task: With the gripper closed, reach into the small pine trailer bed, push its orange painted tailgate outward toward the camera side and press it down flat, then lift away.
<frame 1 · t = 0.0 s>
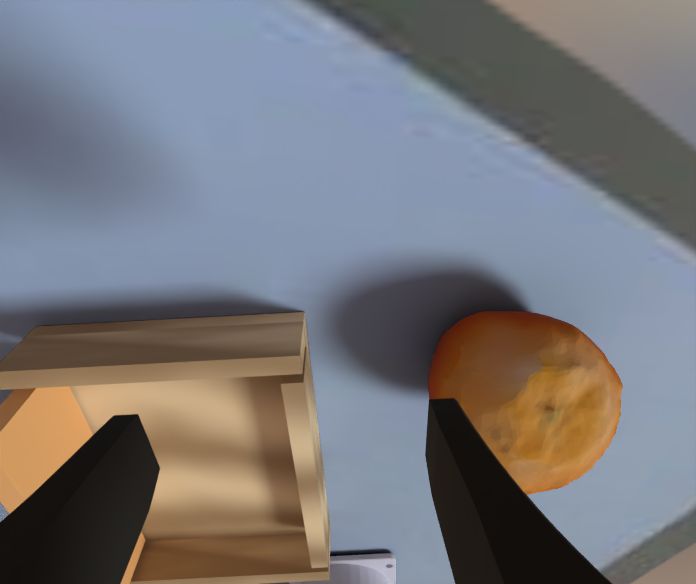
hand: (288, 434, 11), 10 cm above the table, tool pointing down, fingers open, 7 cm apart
tailgate: (71, 506, 23), point 4 cm above the table, hinge at 0.0°
fruit: (492, 347, 23), on the table
trailer bed: (209, 445, 26), on the table
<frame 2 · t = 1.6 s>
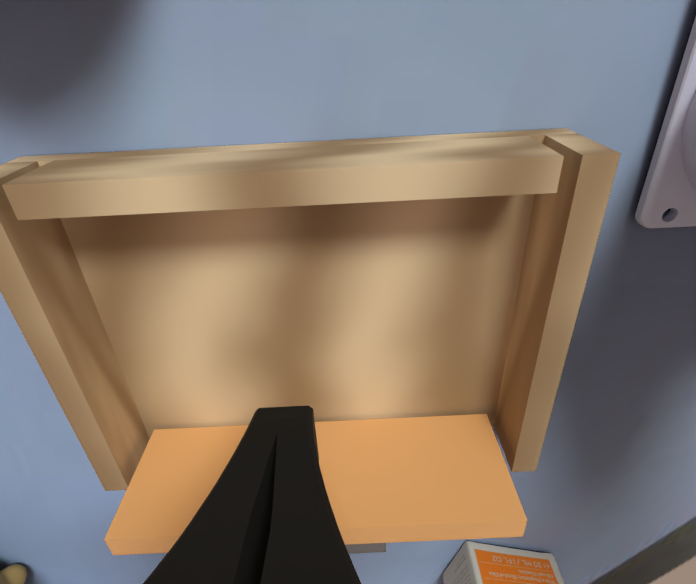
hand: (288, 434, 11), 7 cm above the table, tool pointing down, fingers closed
tailgate: (319, 481, 18), point 4 cm above the table, hinge at 0.0°
skincare box: (494, 558, 28), on the table
trailer bed: (310, 307, 18), on the table
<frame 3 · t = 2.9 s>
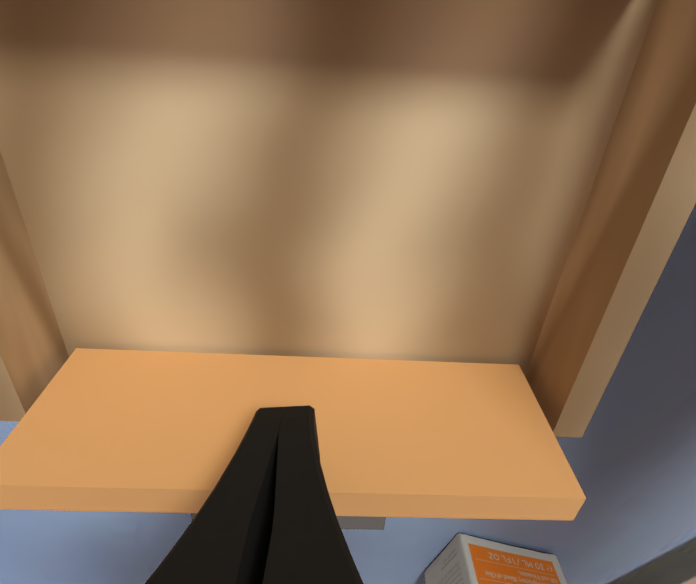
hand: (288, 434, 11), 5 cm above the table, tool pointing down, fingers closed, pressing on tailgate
tailgate: (297, 431, 13), point 4 cm above the table, hinge at 1.7°, touching gripper
skincare box: (486, 557, 24), on the table
trailer bed: (307, 189, 13), on the table
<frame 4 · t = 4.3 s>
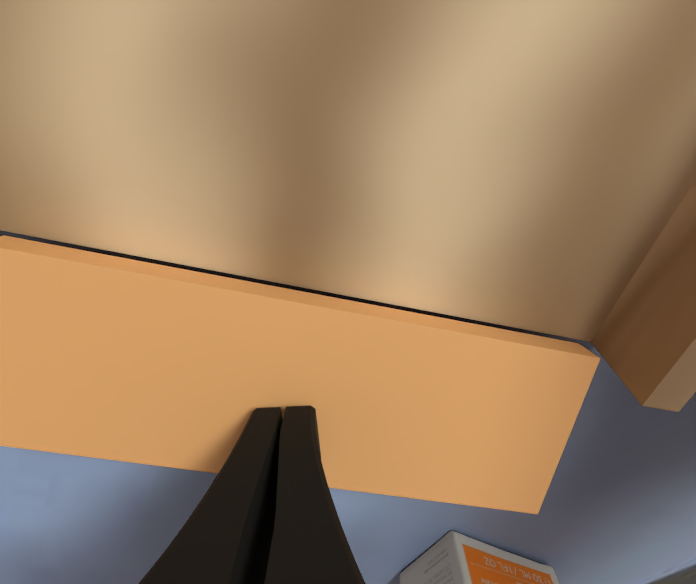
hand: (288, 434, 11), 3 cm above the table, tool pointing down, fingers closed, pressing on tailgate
tailgate: (298, 383, 12), point 2 cm above the table, hinge at 75.1°, touching gripper
skincare box: (472, 562, 21), on the table
trailer bed: (380, 4, 9), on the table
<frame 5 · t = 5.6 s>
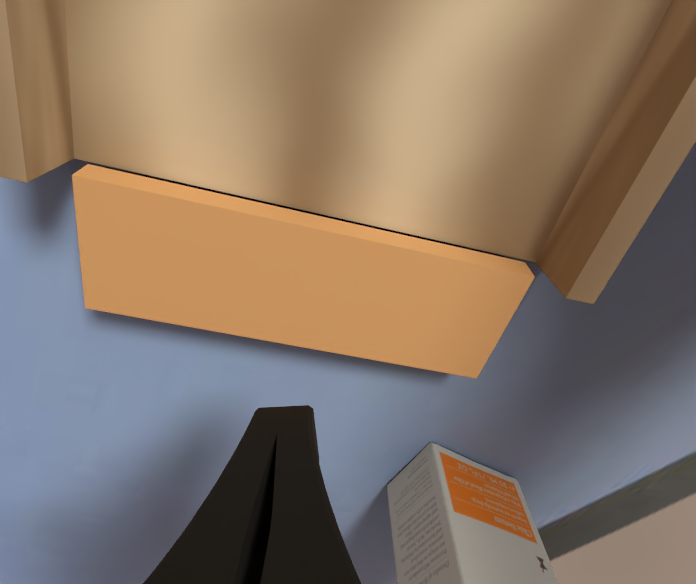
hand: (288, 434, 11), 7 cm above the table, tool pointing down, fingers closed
tailgate: (307, 280, 16), point 1 cm above the table, hinge at 93.3°
skincare box: (449, 476, 24), on the table
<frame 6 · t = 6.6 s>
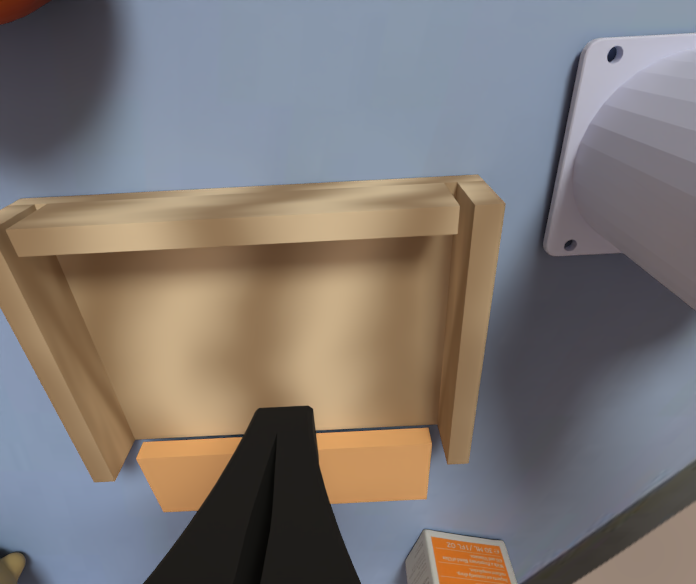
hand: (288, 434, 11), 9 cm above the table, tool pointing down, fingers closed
tailgate: (290, 466, 25), point 1 cm above the table, hinge at 93.5°
skincare box: (451, 546, 31), on the table
trailer bed: (271, 322, 21), on the table
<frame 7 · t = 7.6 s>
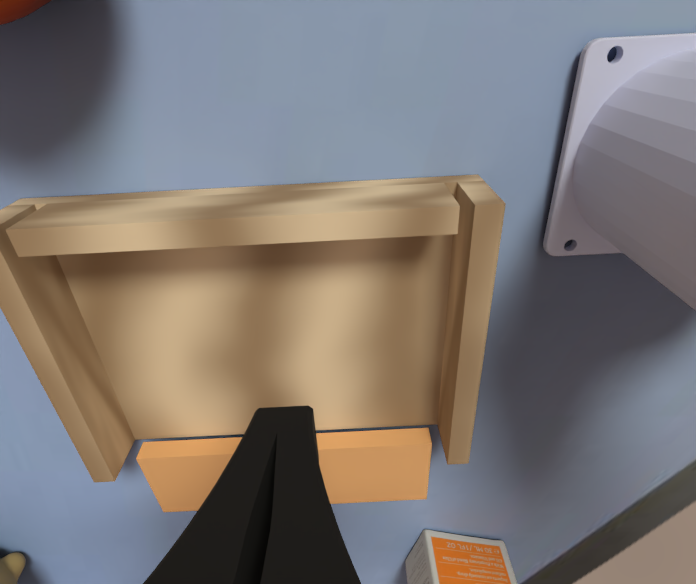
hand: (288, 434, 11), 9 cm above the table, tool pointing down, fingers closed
tailgate: (290, 466, 25), point 1 cm above the table, hinge at 93.5°
skincare box: (451, 546, 31), on the table
trailer bed: (271, 322, 21), on the table
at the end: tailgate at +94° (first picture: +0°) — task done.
